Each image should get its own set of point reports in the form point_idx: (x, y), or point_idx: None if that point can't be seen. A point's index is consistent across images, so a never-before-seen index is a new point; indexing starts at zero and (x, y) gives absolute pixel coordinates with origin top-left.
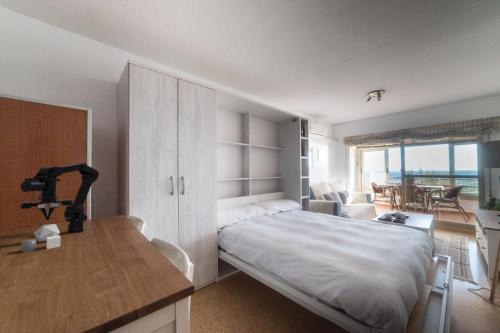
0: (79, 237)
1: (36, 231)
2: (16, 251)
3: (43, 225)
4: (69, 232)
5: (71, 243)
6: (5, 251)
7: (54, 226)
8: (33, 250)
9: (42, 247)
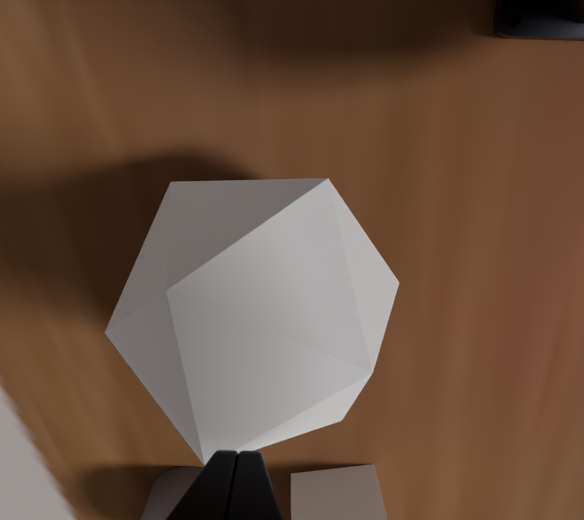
0: (545, 348)
1: (134, 367)
2: (113, 471)
3: (183, 367)
4: (505, 33)
5: (453, 497)
6: (27, 426)
7: (351, 397)
8: None
9: None
